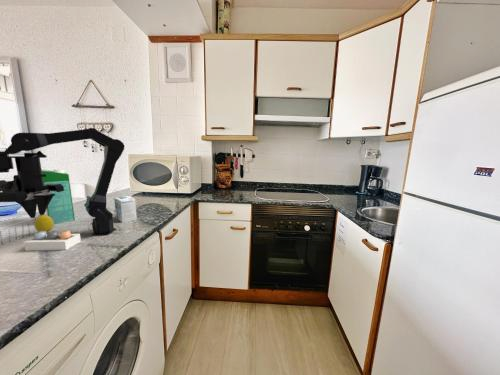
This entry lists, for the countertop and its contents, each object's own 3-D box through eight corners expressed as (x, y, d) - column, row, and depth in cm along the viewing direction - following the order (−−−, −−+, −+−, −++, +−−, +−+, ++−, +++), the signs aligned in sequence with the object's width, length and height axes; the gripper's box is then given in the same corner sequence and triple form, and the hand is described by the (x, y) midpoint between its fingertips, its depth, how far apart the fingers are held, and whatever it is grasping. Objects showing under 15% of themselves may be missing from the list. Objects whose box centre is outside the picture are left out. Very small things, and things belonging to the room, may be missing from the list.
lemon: (53, 230, 90) (50, 212, 88) (56, 233, 86) (53, 214, 85) (35, 233, 85) (32, 214, 84) (37, 237, 82) (33, 217, 80)
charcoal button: (61, 238, 76) (60, 230, 76) (54, 242, 73) (53, 234, 73) (52, 238, 76) (51, 230, 75) (45, 242, 73) (44, 234, 72)
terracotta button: (73, 238, 76) (72, 230, 76) (67, 241, 73) (65, 233, 73) (64, 238, 76) (63, 230, 76) (58, 242, 73) (56, 233, 73)
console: (44, 241, 78) (42, 234, 77) (80, 241, 79) (79, 233, 78) (25, 250, 71) (24, 242, 70) (66, 249, 72) (64, 241, 71)
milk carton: (75, 220, 102) (67, 169, 98) (49, 224, 96) (40, 170, 91) (72, 216, 108) (65, 168, 104) (48, 220, 102) (39, 169, 97)
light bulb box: (115, 218, 106) (113, 197, 104) (130, 215, 111) (128, 195, 109) (122, 223, 99) (120, 200, 97) (137, 219, 104) (135, 198, 102)
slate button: (49, 238, 76) (48, 231, 75) (42, 242, 73) (40, 234, 72) (40, 239, 76) (39, 231, 75) (33, 242, 73) (31, 234, 72)
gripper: (30, 169, 79) (37, 209, 81) (-32, 174, 60) (-20, 226, 63) (62, 169, 79) (67, 208, 82) (10, 174, 61) (19, 225, 64)
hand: (37, 216), depth 73 cm, fingers open, 3 cm apart
